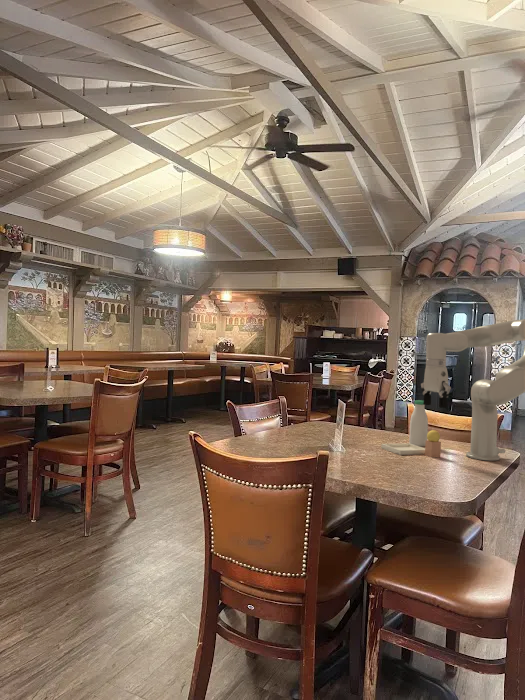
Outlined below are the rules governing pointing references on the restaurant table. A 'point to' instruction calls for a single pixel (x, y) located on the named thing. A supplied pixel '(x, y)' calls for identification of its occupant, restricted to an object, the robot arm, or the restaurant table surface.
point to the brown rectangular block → (432, 448)
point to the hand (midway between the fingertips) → (434, 406)
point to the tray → (404, 449)
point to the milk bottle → (418, 425)
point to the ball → (433, 436)
